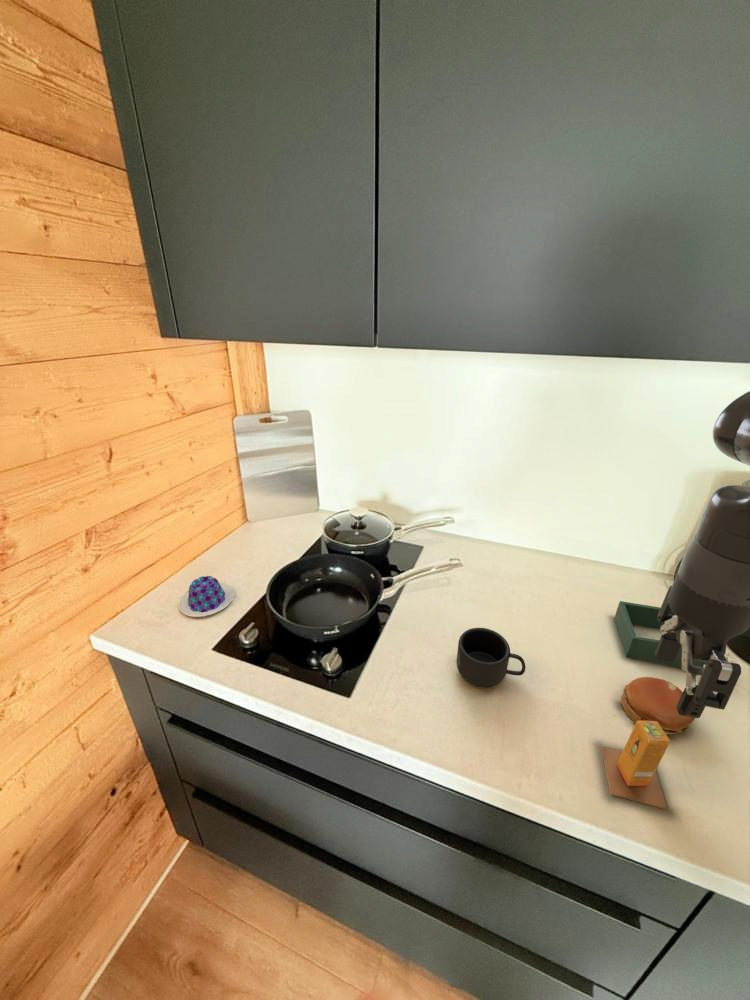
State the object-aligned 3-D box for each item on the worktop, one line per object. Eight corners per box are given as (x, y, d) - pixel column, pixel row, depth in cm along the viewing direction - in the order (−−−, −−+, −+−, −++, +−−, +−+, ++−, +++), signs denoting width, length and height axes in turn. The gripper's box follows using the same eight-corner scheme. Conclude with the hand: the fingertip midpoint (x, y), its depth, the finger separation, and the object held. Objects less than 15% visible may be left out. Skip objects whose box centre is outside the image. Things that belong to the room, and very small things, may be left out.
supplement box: (651, 787, 60) (673, 742, 56) (626, 787, 60) (646, 742, 56) (638, 763, 63) (658, 719, 59) (615, 763, 63) (633, 719, 59)
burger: (616, 717, 70) (624, 698, 68) (625, 680, 77) (632, 662, 75) (687, 752, 65) (698, 732, 63) (690, 709, 72) (700, 690, 70)
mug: (451, 685, 76) (454, 657, 73) (459, 649, 84) (462, 622, 80) (521, 704, 73) (527, 675, 69) (522, 665, 80) (528, 637, 77)
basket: (682, 630, 88) (690, 612, 86) (703, 672, 79) (712, 652, 76) (613, 619, 91) (619, 600, 89) (625, 657, 82) (632, 638, 79)
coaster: (651, 760, 64) (652, 758, 64) (666, 809, 58) (667, 808, 58) (601, 748, 66) (601, 746, 65) (610, 794, 60) (611, 793, 59)
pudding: (205, 580, 104) (200, 562, 102) (245, 591, 100) (242, 573, 98) (167, 611, 94) (161, 592, 92) (210, 625, 90) (205, 606, 88)
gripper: (800, 633, 39) (735, 745, 46) (730, 550, 51) (687, 648, 58) (706, 618, 41) (657, 728, 48) (660, 541, 53) (627, 638, 60)
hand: (674, 684), depth 53 cm, fingers open, 8 cm apart
